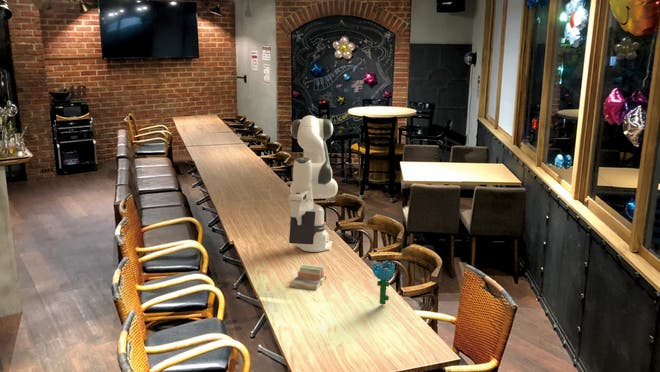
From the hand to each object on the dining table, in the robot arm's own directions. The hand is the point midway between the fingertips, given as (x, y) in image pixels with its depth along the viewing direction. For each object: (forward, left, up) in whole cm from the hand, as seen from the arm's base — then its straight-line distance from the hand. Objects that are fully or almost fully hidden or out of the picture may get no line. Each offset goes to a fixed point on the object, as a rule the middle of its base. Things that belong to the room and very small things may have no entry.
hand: (302, 223), depth 272 cm
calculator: (+2, 0, -9) cm, 10 cm away
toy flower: (+10, +41, -30) cm, 52 cm away
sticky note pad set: (-3, +2, -30) cm, 30 cm away
